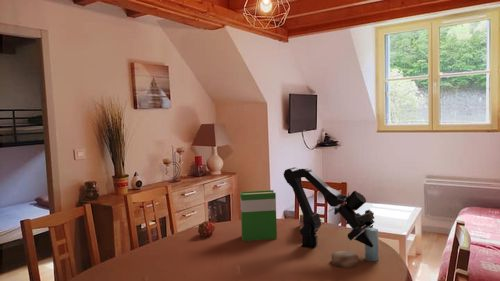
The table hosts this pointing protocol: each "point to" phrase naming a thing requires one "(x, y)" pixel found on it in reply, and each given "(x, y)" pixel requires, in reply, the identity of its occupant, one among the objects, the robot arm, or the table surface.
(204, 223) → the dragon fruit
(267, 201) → the hardback book
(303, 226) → the stack of blocks
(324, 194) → the robot arm
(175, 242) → the table surface
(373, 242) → the blue-grey cylinder
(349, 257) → the walnut base
